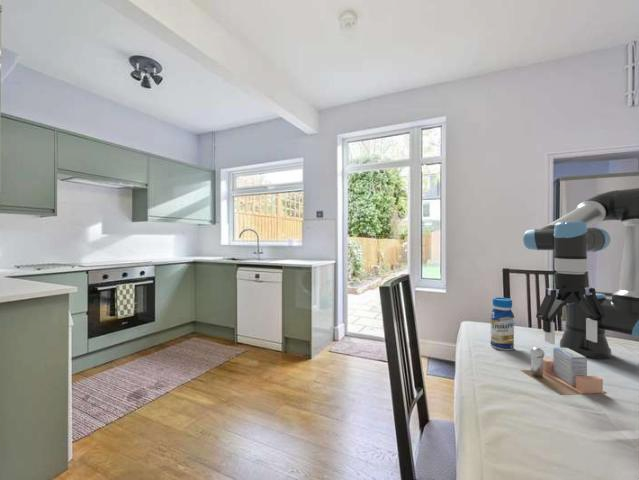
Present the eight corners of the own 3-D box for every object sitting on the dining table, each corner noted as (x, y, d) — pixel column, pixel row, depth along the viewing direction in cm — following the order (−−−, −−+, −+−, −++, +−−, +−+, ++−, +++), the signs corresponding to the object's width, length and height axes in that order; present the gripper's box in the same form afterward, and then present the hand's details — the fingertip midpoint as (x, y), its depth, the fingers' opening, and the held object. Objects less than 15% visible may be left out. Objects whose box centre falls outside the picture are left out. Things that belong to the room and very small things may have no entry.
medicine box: (587, 387, 84) (588, 357, 84) (570, 386, 85) (571, 356, 85) (568, 374, 92) (568, 347, 92) (552, 373, 92) (552, 346, 92)
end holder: (559, 370, 95) (559, 358, 95) (604, 393, 81) (604, 379, 81) (539, 371, 95) (539, 359, 95) (580, 394, 81) (581, 379, 81)
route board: (559, 372, 96) (559, 369, 96) (607, 397, 81) (607, 393, 81) (519, 373, 96) (519, 370, 96) (560, 398, 81) (560, 394, 81)
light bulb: (537, 373, 94) (537, 345, 94) (547, 378, 90) (547, 349, 90) (527, 373, 93) (527, 345, 93) (536, 378, 90) (536, 349, 90)
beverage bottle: (514, 346, 120) (514, 298, 120) (514, 352, 113) (515, 301, 113) (490, 342, 125) (490, 295, 125) (489, 348, 118) (490, 299, 118)
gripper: (596, 269, 93) (596, 335, 93) (521, 271, 91) (522, 339, 91) (622, 272, 85) (622, 344, 85) (541, 275, 83) (542, 348, 84)
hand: (570, 341), depth 88 cm, fingers open, 13 cm apart
